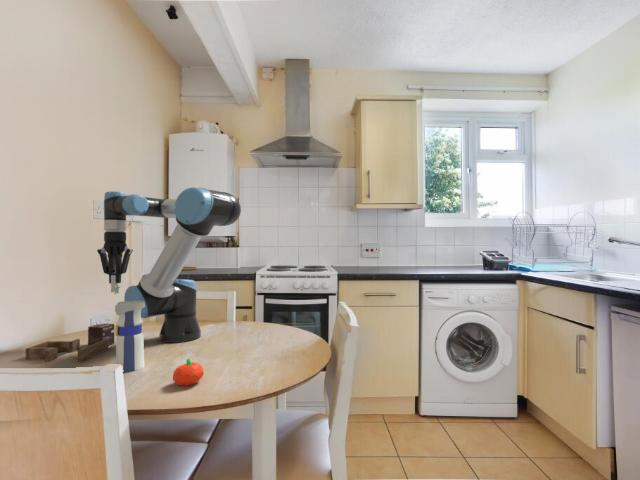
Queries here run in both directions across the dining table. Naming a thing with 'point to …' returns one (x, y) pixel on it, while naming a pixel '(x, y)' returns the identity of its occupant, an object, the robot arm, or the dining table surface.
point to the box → (100, 333)
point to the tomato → (188, 373)
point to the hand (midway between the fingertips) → (115, 291)
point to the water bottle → (129, 335)
